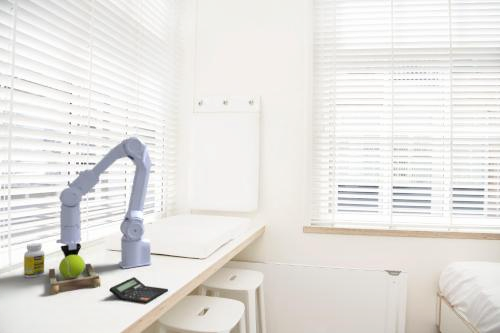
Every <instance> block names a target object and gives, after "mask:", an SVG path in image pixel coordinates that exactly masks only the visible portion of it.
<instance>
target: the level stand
mask: <svg viewBox="0 0 500 333" xmlns="http://www.w3.org/2000/svg"><path fill="white" fill-rule="evenodd" d="M55 270H56V269H55V268H49V269H48V275H49V276H48V278H49V292H50V293H49V294H50V296H51V295H52V296H55V295H58V294H59V293H64V292H69V291H70V292H71V291H75V290H80V289H85V288H86V287H87V288H91V286H93V287H92V288H99V287H101V278H100V276H99V275H97V273H96V272H95V270H94V267H92V264H91V263H85V267H84V270H85V271H86V273H87V275H88V276H86V277H78V278H71V279H67V280H59V281H57V277H56V276H57V275H56V271H55ZM98 286H99V287H98Z"/></svg>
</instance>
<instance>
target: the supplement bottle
mask: <svg viewBox="0 0 500 333" xmlns="http://www.w3.org/2000/svg"><path fill="white" fill-rule="evenodd" d="M42 247H43V245H42V243H40V242H35V243H29V244H27V245H26V250H27V251H26V252H24V255H23V262H24V263H23V276H24V277H25V278H28V279H29V278H30V279H31V278H37V277H41V276H43V275H45V250H43V249H42Z"/></svg>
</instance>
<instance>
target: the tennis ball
mask: <svg viewBox="0 0 500 333" xmlns="http://www.w3.org/2000/svg"><path fill="white" fill-rule="evenodd" d="M85 264H86V263H85V260H84V259H83V257H82V256H80V255H79V254H78V255H69V256H67V257H65V256H64V257H63V259H62V260H61V261H60V263H59V267H58V270H59V273H60V275H61V276H62V277H64V278H66V279H76V278H77V277H79V276H80V275H81V274H82V273H83V272H84V270H85Z"/></svg>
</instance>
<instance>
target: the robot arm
mask: <svg viewBox="0 0 500 333" xmlns="http://www.w3.org/2000/svg"><path fill="white" fill-rule="evenodd" d="M147 149H148V148H147V144H145V142H144V141H142V139H141V138H139V137H137V136H131V137H129V138H125V139H123V140H122V141H121V142H120V143H118V144H117V145H116V146H114V147H113V148H112V149H110V150H109V151H108V153H106V155H104V157H103V158H102V159H101V160H100V161H98V162H97V164H96V165H95V166H93V168H91V169H84V170H83V171H82V170H81V171H79V172H78V176H77V177H76V178H75V179H74V180H73V181H72V182H69V183H67V186H68V187H66V188H63V190H61V192H60V195H59V197H58V198H59V201H60V202H61V203H60V204H61V205H60V212H59V213H60V214H59V216H60V218H59V219H60V226H59V227H60V239H56V240H55V242H56V243H57V244H62V245H61V246H60V249H61V251H62V253H63V255H64V258H65V257H67V256H69V255H78V256H79V252H80V250H81V248H82V246H81V243H80V242H81V241H82V237H81V234H82V233H81V230H82V229H81V219H82V218H81V209H80V208H81V207H80V205H81V204H80V203H81V202H82V199H83V196H86V195H87V194H88V193H89V192H90V191H91V190H93V188H94V187H95V186H96V185H97V184H98V183H99V182H100V176H101V175H102V174H103V173H104V172H105V171H107V169H108V168H109V167H110V166H111V165H113V164H114V163H115V162H116V161H117V160H119V159H124V158H128V159H130V161H131V162H132V163H133V164H134V165H135V170H134V177H133V180H132V181H133V182H132V187H131V191H130V192H131V193H130V197H129V203H128V207H127V211H126V212H125V217H124V219H123V220H122V222H121V224H120V229H119V230H120V232H121V233H122V236H121V238H120V242H121V243H120V246H121V249H120V252H121V254H120V255H121V259H120V261H118V265H119V266H120V267H121V268H122V270H123V269H129V268H130V269H131V268H135V267H142V266H149V265H152V262H151V260H152V259H151V258H152V257H151V256H152V255H151V254H152V253H151V240H150V238H149V237H144V233H145V226H144V214H143V211H144V207H145V206H144V205H145V203H146V202H145V201H146V196H147V191H148V185H149V180H150V176H151V175H150V174H151V168H152V160H151V156H150V154H149V151H148V150H147Z"/></svg>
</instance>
